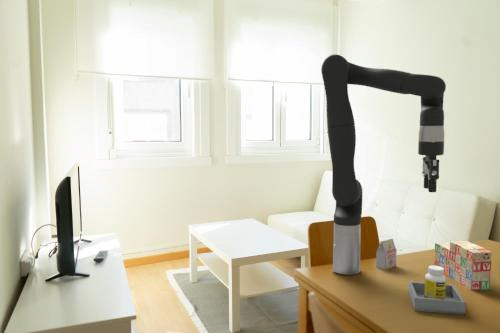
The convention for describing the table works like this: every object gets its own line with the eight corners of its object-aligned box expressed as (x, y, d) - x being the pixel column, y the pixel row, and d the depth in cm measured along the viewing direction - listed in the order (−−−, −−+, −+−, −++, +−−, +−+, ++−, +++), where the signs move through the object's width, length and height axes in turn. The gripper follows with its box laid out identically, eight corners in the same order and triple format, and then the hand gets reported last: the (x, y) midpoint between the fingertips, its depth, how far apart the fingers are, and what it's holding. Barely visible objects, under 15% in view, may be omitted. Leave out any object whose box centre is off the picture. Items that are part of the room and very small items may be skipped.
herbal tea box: (376, 267, 144) (376, 240, 143) (387, 263, 148) (388, 237, 147) (384, 269, 141) (385, 242, 140) (396, 266, 145) (396, 239, 144)
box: (414, 310, 108) (414, 297, 108) (408, 292, 121) (408, 281, 120) (465, 315, 105) (465, 302, 105) (453, 296, 117) (453, 285, 117)
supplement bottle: (436, 306, 109) (437, 272, 108) (420, 299, 114) (421, 266, 113) (449, 302, 112) (450, 268, 111) (432, 295, 117) (434, 263, 116)
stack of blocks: (434, 267, 143) (435, 234, 142) (450, 267, 144) (451, 233, 142) (471, 290, 122) (472, 252, 121) (490, 290, 122) (492, 251, 121)
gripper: (415, 140, 134) (414, 187, 136) (422, 140, 121) (420, 193, 122) (439, 139, 133) (437, 187, 134) (449, 140, 119) (447, 193, 120)
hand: (429, 190), depth 128 cm, fingers open, 8 cm apart
